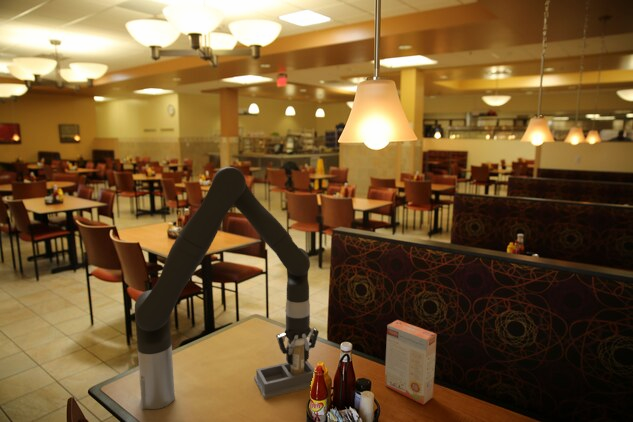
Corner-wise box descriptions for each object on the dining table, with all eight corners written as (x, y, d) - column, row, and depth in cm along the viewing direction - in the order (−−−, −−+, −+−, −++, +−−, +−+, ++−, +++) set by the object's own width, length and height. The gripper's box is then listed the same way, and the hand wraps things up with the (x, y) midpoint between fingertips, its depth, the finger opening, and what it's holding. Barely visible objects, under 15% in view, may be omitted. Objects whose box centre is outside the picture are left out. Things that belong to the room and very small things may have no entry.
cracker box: (433, 397, 127) (437, 333, 123) (423, 406, 123) (427, 340, 119) (394, 378, 137) (397, 318, 133) (383, 386, 133) (386, 324, 129)
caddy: (264, 398, 126) (264, 386, 125) (254, 379, 136) (254, 368, 135) (319, 384, 133) (319, 373, 132) (305, 367, 143) (305, 356, 142)
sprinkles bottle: (306, 377, 135) (307, 338, 133) (294, 381, 132) (295, 341, 130) (299, 370, 139) (300, 332, 136) (287, 374, 136) (288, 335, 134)
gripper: (280, 320, 125) (280, 372, 128) (323, 313, 131) (322, 363, 134) (272, 311, 132) (272, 360, 135) (313, 304, 138) (313, 352, 141)
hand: (297, 361), depth 135 cm, fingers open, 4 cm apart
